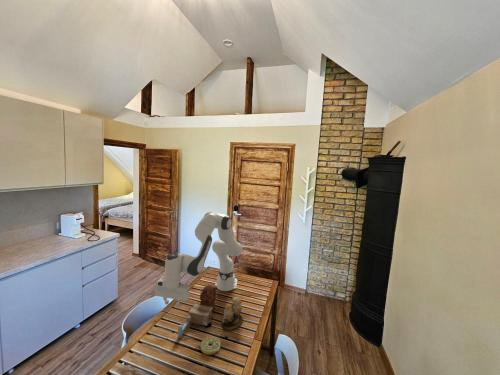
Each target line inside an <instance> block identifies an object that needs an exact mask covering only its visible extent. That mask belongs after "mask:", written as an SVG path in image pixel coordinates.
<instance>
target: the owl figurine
mask: <svg viewBox="0 0 500 375" xmlns="http://www.w3.org/2000/svg"><path fill="white" fill-rule="evenodd" d="M231 302H232V304H230V303H227V304H226V305H225V308H224V313H223V318H222V320H221V323H220V327H221V329H222V330H223V331H224V332H227V333H228V332H234V331H235V330H238V329H239V328H240V326H242V324H243V321H244V317H243V316H242V315H241V314H242V313H241V312H242V309H243V304H242V300H241V297H239V296H236V297H234V296H233V298H231Z"/></svg>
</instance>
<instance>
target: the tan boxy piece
mask: <svg viewBox="0 0 500 375" xmlns="http://www.w3.org/2000/svg"><path fill="white" fill-rule="evenodd" d="M212 309H213V307H210V306H204V305H200V303H199V304H197V303H194V304H193V306H192V307H191V308H190V310H189V311H188V314H189V316H190V317H191V323H190V324H188V326H187V327H186V328H185V329H190V328H191V326H192V325H193V324H197V325H202V326H204V327H205V326H208V325H209V323H210V322H211V319H212V317H213V316H212V315H213V311H212ZM213 310H214V309H213Z"/></svg>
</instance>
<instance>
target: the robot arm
mask: <svg viewBox="0 0 500 375" xmlns="http://www.w3.org/2000/svg"><path fill="white" fill-rule="evenodd" d="M232 224H233V220H232V218H231V216H229V215H227V214H223V213H218V212H217V213H216V212H207V213H205V214H204V216H203V217H202V218H201V220H200V221H199V222H198V224H197V225H196V227H195V229H194V235H195V237H196V239H197V240H198V241H199V242H200V243H201V246H200V248H199V251H198V254H197V255H196V256H192V255H189V254H186V253H185V254H184V253H179V252H171V253H170V254H167V255H166V257H165V262H164V273H165V275H164V276H162V277H160V278H159V279H158V280H157V281H156V283H155V284H156V285H155V289H154V290H155V291H154V295H155V296H156V297H159V298H163V302H164V305H169V301H170V300H168V299H172V300H177V302H176V303H175V307H180V305H181V304H180V303H181V302H188V300H189V299H190V297H191V293H190V289H191V287H190V286H189V285H188V284H187V283H183V282H182V280H181V279H182V274H181V273H186V274H189V275H190V276H191V277H192V276H193V277H196V276H198V275H200V274H201V273H202V272H203V270H204V267H205V263H206V259H207V257H208V254H209V251H210V249H211V248H212V252H213V253H215V254H216V256H217V257H218V258H217V259H218V260H219V261H218V262H219V269H218V275H217V276H216V282H215V283H214V287H215V288H217V290H219V291H221V292H229V291H232V290H236V289H237V286H238V279H237V278H236V274H235V273H234V270H235V268H234V261H233V259H232V258H231V257H230V256H232V257H239V256H240V255H241V254H242V253H243V245H242V244H241V243H240V242H238V241H237V240H236V239H235V236H234V233H233V228H232V227H233V226H232ZM215 229H217V234H218V239H219V240H214V242H213V237H212V234H213V232H214V231H215Z"/></svg>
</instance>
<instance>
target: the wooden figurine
mask: <svg viewBox="0 0 500 375" xmlns="http://www.w3.org/2000/svg"><path fill="white" fill-rule="evenodd" d="M216 290H217V289H216V286H213V285H211V284H207V285H205V286H204V287H203V288H202V291H201V292H200V294H199V302H200V303H199V305H204V306H210V307H213V309H212V312H214V310H215V309H216V302H215V301H216V299H217V295H216V294H217V292H216Z"/></svg>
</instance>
